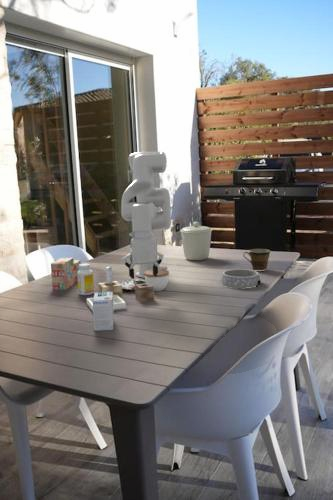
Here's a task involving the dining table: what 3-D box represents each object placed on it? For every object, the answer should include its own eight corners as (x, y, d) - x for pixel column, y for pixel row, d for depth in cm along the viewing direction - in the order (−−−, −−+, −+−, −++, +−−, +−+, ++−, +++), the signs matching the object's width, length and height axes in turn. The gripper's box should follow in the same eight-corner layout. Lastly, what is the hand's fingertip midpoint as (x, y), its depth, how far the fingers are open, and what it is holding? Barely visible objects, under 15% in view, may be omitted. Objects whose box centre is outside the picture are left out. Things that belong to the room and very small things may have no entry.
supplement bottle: (96, 292, 222) (95, 263, 219) (89, 296, 215) (88, 266, 213) (83, 291, 224) (81, 262, 222) (75, 295, 218) (73, 265, 215)
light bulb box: (95, 321, 182) (93, 292, 180) (114, 320, 183) (112, 291, 181) (93, 331, 172) (92, 300, 170) (113, 330, 172) (112, 299, 170)
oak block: (117, 294, 217) (116, 280, 216) (122, 299, 210) (121, 285, 209) (99, 296, 215) (98, 283, 213) (103, 301, 207) (102, 287, 206)
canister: (191, 254, 298) (191, 219, 294) (218, 257, 288) (218, 220, 284) (174, 260, 284) (173, 222, 280) (201, 263, 273) (201, 224, 269)
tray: (117, 300, 207) (117, 294, 207) (125, 308, 196) (125, 302, 195) (86, 304, 203) (86, 298, 203) (93, 313, 192) (93, 306, 191)
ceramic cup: (268, 268, 257) (268, 248, 255) (270, 272, 247) (270, 252, 246) (242, 268, 259) (242, 248, 257) (243, 272, 249) (243, 252, 247)
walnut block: (149, 296, 212) (148, 282, 211) (154, 300, 206) (153, 286, 205) (135, 298, 210) (135, 284, 209) (140, 302, 204) (139, 287, 203)
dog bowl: (264, 280, 233) (264, 269, 232) (253, 291, 217) (253, 278, 216) (228, 278, 240) (228, 267, 239) (215, 287, 224) (215, 275, 223)
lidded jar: (151, 293, 216) (150, 272, 215) (141, 288, 226) (140, 267, 224) (173, 289, 221) (173, 268, 219) (162, 284, 230) (161, 264, 229)
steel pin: (114, 295, 211) (112, 267, 209) (108, 296, 210) (106, 268, 208) (112, 294, 214) (110, 266, 212) (106, 295, 213) (104, 267, 211)
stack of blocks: (69, 278, 249) (68, 253, 247) (82, 278, 248) (80, 253, 246) (52, 289, 229) (50, 263, 226) (65, 290, 227) (63, 263, 225)
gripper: (123, 237, 197) (125, 281, 199) (165, 234, 202) (167, 276, 205) (118, 235, 204) (120, 277, 206) (159, 232, 209) (160, 273, 212)
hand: (143, 276), depth 206 cm, fingers open, 9 cm apart
